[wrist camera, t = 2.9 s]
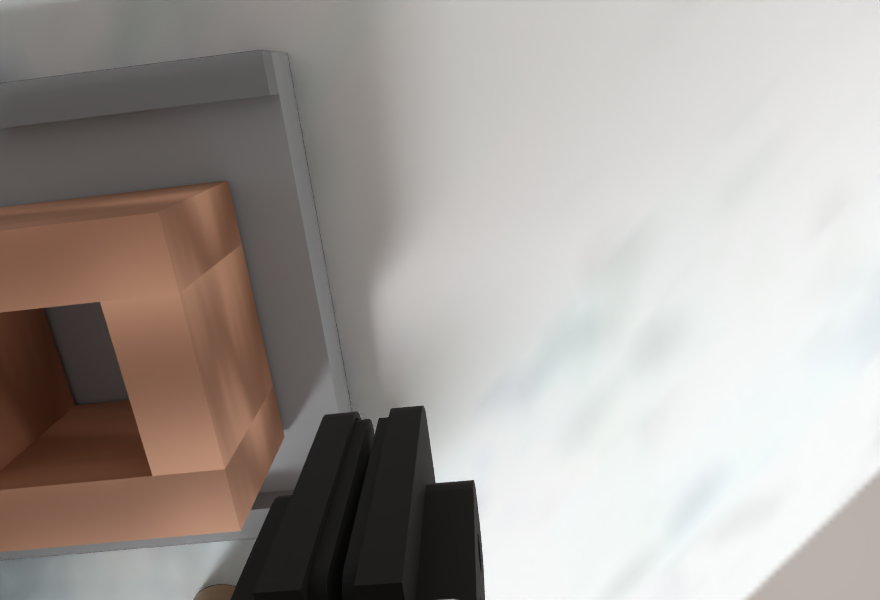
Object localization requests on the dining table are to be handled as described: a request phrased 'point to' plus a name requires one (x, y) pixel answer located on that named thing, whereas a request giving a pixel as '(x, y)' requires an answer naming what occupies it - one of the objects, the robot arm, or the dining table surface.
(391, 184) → the dining table surface
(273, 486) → the grey open tray
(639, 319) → the dining table surface
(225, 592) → the dowel
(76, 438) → the block
